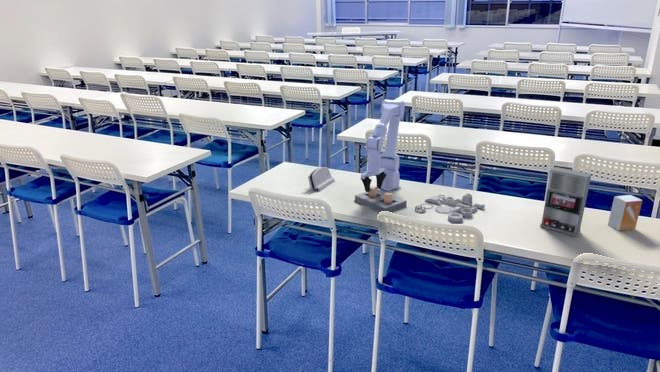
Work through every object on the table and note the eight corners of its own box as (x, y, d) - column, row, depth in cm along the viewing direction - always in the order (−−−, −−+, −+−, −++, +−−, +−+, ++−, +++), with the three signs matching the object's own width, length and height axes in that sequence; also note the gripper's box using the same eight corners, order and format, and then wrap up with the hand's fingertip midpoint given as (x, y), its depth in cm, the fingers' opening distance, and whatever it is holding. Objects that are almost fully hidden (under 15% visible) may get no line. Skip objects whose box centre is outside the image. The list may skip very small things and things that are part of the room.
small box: (619, 231, 190) (626, 201, 186) (607, 224, 196) (613, 196, 191) (635, 229, 192) (643, 200, 187) (623, 222, 198) (630, 194, 193)
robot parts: (408, 211, 212) (409, 200, 211) (437, 195, 230) (438, 185, 228) (458, 226, 197) (459, 215, 195) (485, 208, 214) (486, 197, 212)
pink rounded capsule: (373, 197, 226) (373, 185, 223) (378, 199, 223) (379, 188, 221) (366, 199, 223) (367, 187, 221) (372, 201, 220) (372, 190, 218)
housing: (354, 200, 222) (354, 195, 222) (376, 193, 231) (376, 188, 230) (384, 213, 208) (385, 208, 207) (406, 205, 216) (406, 200, 215)
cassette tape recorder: (539, 227, 194) (549, 170, 185) (544, 222, 198) (554, 166, 190) (575, 237, 186) (587, 178, 177) (580, 232, 190) (592, 174, 181)
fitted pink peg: (387, 203, 218) (388, 191, 216) (394, 206, 215) (394, 194, 213) (381, 206, 216) (382, 193, 214) (387, 208, 213) (388, 196, 211)
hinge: (319, 191, 233) (313, 172, 231) (311, 192, 236) (305, 174, 234) (335, 181, 247) (329, 163, 245) (328, 182, 249) (322, 165, 248)
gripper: (379, 157, 223) (378, 184, 228) (356, 163, 215) (356, 190, 220) (389, 160, 218) (388, 188, 223) (367, 167, 210) (366, 195, 215)
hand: (373, 189), depth 221 cm, fingers open, 7 cm apart
